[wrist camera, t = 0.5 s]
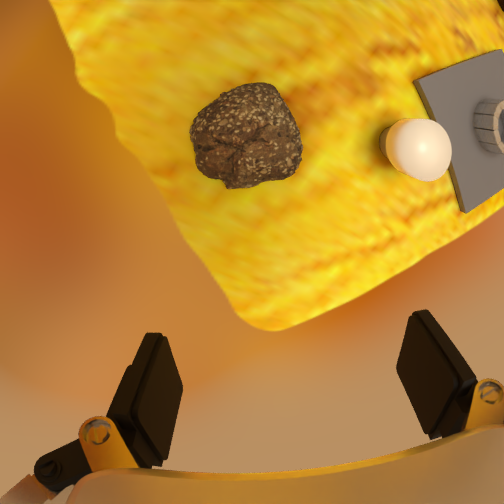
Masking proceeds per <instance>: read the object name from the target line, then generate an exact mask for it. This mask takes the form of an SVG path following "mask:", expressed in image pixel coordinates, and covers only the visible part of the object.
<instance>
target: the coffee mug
mask: <svg viewBox="0 0 504 504" xmlns="http://www.w3.org/2000/svg"><path fill="white" fill-rule="evenodd" d="M497 1H498V3H499V5H500V7H501V8H502V10H503V11H504V0H497Z"/></svg>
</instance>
